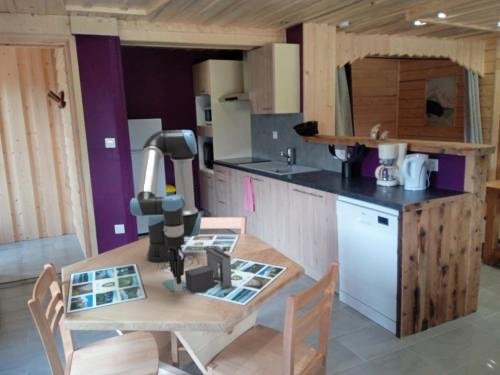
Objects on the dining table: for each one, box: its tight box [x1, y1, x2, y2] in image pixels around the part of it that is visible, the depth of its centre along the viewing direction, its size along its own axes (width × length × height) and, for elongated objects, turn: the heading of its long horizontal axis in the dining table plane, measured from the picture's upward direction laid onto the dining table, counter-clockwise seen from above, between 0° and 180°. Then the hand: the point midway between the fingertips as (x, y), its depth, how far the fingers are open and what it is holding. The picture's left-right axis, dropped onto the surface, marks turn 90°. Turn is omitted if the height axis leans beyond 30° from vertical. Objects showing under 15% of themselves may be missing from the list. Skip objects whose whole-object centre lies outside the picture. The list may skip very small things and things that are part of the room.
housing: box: [205, 248, 233, 289], centre depth 178 cm, size 14×4×13 cm, turn 34°
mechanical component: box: [203, 245, 227, 255], centre depth 196 cm, size 3×10×10 cm, turn 78°
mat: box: [161, 278, 186, 292], centre depth 178 cm, size 11×8×1 cm
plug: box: [184, 265, 215, 294], centre depth 174 cm, size 6×12×8 cm, turn 124°
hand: (178, 289), depth 169 cm, fingers closed
